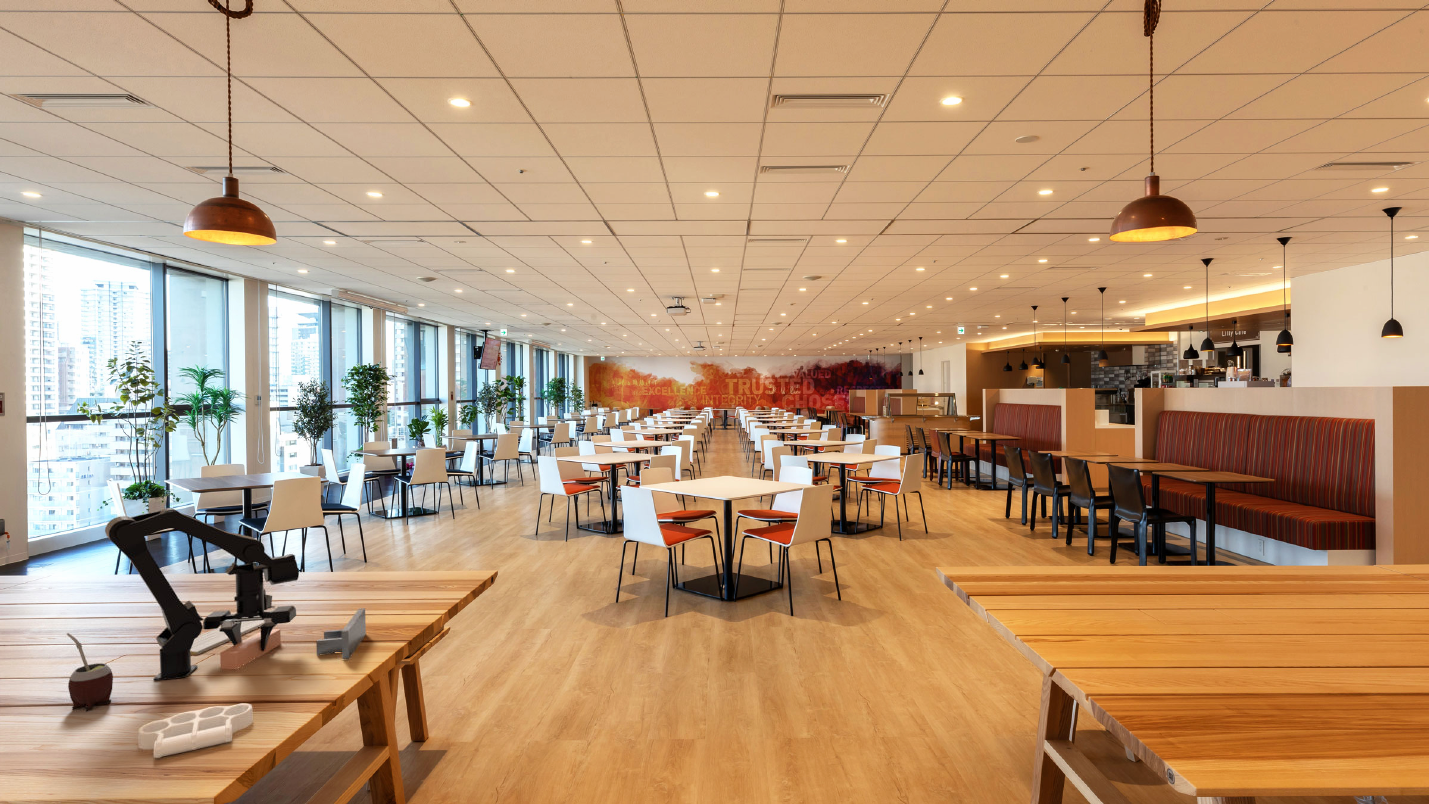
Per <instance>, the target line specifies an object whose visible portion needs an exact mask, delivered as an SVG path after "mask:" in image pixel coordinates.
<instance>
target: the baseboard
mask: <svg viewBox="0 0 1429 804" xmlns="http://www.w3.org/2000/svg"><path fill="white" fill-rule="evenodd" d="M276 608H277V607H276V606H275V605H271V608H270V609H274V610H275V609H276ZM270 611H271V610H264V612H270ZM255 617H260V616H255ZM243 618H248V617H243ZM264 623H265V622H264V620H256V621H244V622H242V623H241V636H243V635H246V634H248V633H250V631H251V632H253V631H255V630H257V629H259V628H258V627H260V628H261V626H262V625H263V624H264ZM220 628H221V626H219V627H218V628H217V629H210V630H209V631H207V632H204V633H202V634H200V635H199V636H198V637H197V638H196V639H194V642H193V645H192V647H191V649H190V653H191V656H198V655H200V654H203V653H205V652H207V651H209V650H212V649H215V648H216V647H218V646H221V645H224V644H225V643H227V642H231V640H230V639H229V638H228V637H227V635H226V634H225V633H224V632H220V631H219V629H220ZM252 630H253V631H252ZM245 633H246V634H245Z"/></svg>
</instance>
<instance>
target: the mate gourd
mask: <svg viewBox="0 0 1429 804" xmlns="http://www.w3.org/2000/svg"><path fill="white" fill-rule="evenodd" d="M66 635H67V636H68V638H70V639H71V640H72V641H73V642H74V643H75V647H76V648H77V650H78V652H79V655H80V657H81V660H82V663H83V666H81V667H78V668H76V669H74V671H73V672H72V673H71V675H70V677H69V681H68V692H69V696H70V700H71V702H72V704H73V706H71V709H72V710H78V709H84V708H85V712H90V711H92V710H93V709H94V707H96V706H100V705H106V704H110V703H111V702H112V699H110V698H111V695H112V691H113V685H114V684H113V683H114V682H113V681H114V674H113V671H112V669H111V668H110V667H109V665H107V664H106V663H102V662H100V663H91V664H88V662H87V661H88V660H87V659H86V655H85V653H84V650H83V645H82V643H81V642H80V641H79V640H78V639H77V638H76V637H75V636H73V635H72V634H71V633H70V632H68V633H67V632H66Z"/></svg>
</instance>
